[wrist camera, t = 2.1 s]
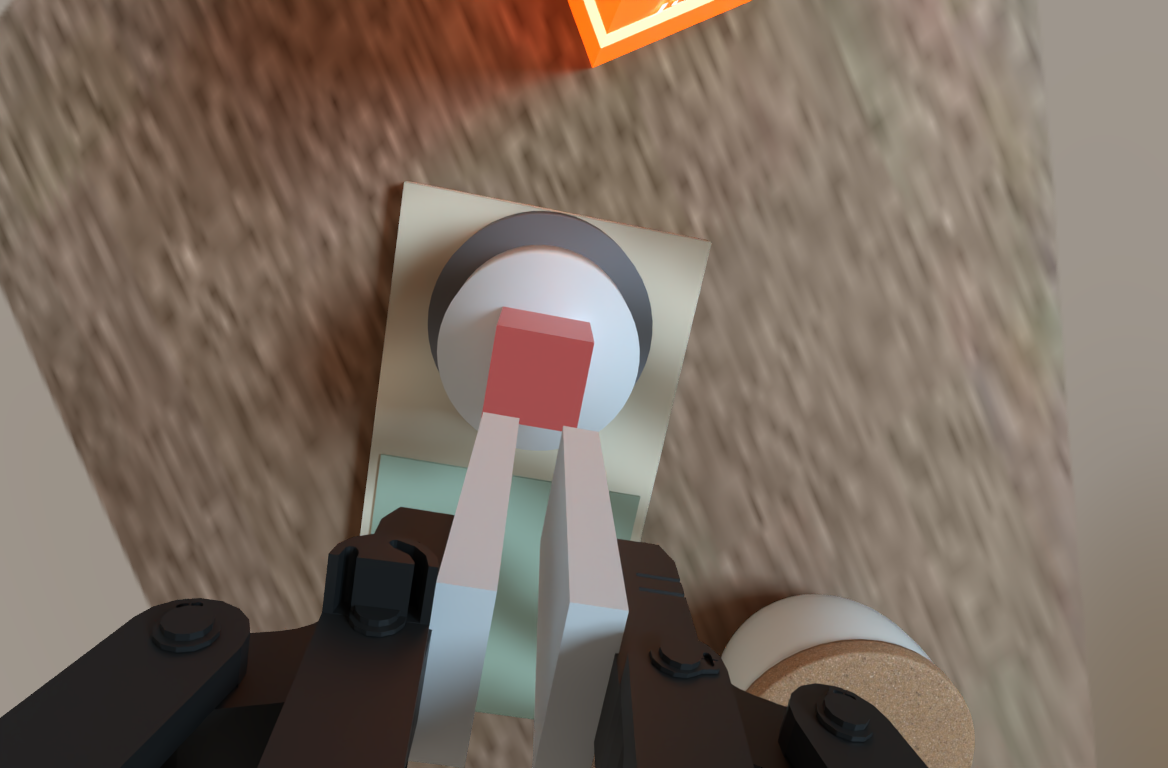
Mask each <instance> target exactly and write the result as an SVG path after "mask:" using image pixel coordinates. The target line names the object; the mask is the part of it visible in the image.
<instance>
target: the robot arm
mask: <svg viewBox="0 0 1168 768" xmlns="http://www.w3.org/2000/svg"><path fill="white" fill-rule="evenodd" d="M518 426H519V418H515V417H509V416H503V415H498V414H492V413H486V412H483V415H482V418H481V422H480V426H479V429H478V433H477V437H476V440H475V444H474V447H473V451H472V455H471V458H470V462H469V465H468V469H467V473H466V476H465V480H464V483H463V487H462V491H461V494H460V498H459V502H458V505H457V509H456V512H455V515H451V514H444V513H438V512H432V511H425V510H419V509H413V508H406V507H399V508H397V509H396V510H394V511H393V512H391V513H389V514H388V515H386V516H385V517H383V518H382V519H381V520H380V522H379V525H378V527H377V529H376V531H375V533H374V534H368V535H362V536H356V537H352V538H350V539H348V540H345V541H343V542H341V543H339V544H337V545H336V546H335V547H334V549H333V550H332V551H331V552H330V553H329V556H328V565H327V574H326V583H325V592H324V601H323V609H322V614H321V617H320V619H319V621H318V622H316V623H314V624H311V625H308V626H305V627H301V628H298V629H292V630H284V631H275V632H260V633H250V625H249V619H248V618H247V617H246V616H245V614H244V613H243V612H242V611H241V610H240V609H239V608H237V607H234V606H232V605H230V604H228V603H225V602H223V601H217V600H209V599H202V598H198V599H183V600H175V601H171V602H168V603H164V604H161V605H157V606H153V607H151V608H150V609H148V610H146V611H144V612H143V613H141V614H139V615H137V616H135V617H133V618H132V619H131V620H129V621H128V622H127V623H125V624H124V625H123V626H121V627H120V628H119V629H118V630H116V631H115V632H114V633H113V634H111V635H110V636H108V637H107V638H106V639H104V640H103V641H102V642H100V643H99V644H98V645H96V646H95V647H94V648H92V649H91V650H90V651H88V652H87V653H86V654H84V655H83V656H82V657H80V658H79V659H78V660H77V661H75V662H74V663H73V664H71V665H70V666H69V667H67V668H66V669H64V670H63V671H62V672H61V673H59V674H58V675H57V676H55V677H54V678H53V679H51V680H50V681H49V682H47V683H46V684H45V685H43V686H42V687H41V688H39V689H38V690H37V691H35V692H34V693H33V694H31V695H30V696H29V697H27V698H26V699H25V700H24V701H22V702H21V703H19V704H18V705H17V706H15V707H14V708H13V709H11V710H10V711H9V712H7V713H6V714H5V715H3V716H2V717H1V718H0V768H407V764H408V761H414V762H422V763H430V764H438V765H446V766H453V767H461V768H464V767H465V762H466V756H467V751H468V746H469V740H470V735H471V729H472V724H473V719H474V713H475V708H476V702H477V697H478V692H479V686H480V681H481V675H482V670H483V665H484V659H485V654H486V648H487V643H488V637H489V632H490V627H491V621H492V616H493V610H494V605H495V600H496V594H497V588H498V580H499V572H500V565H501V557H502V549H503V541H504V534H505V526H506V518H507V511H508V503H509V495H510V487H511V480H512V472H513V464H514V457H515V449H516V441H517V433H518ZM594 753H595V767H596V768H928V767H927V765H926V764H925V763H924V762H923V760H922V759H921V758H920V757H919V756H918V754H917V753H916V752H915V751H914V750H913V748H912V747H911V746H910V745H909V744H908V742H907V741H906V740H905V739H904V737H903V736H902V735H901V734H900V733H899V731H898V730H897V729H896V728H895V727H894V725H893V724H892V723H891V722H890V721H889V719H888V718H887V717H885V716H884V715H883V714H882V713H881V712H880V711H879V710H878V709H877V708H876V707H875V706H874V705H872V704H871V703H869V702H867V701H866V700H864V699H863V698H861V697H859V696H858V695H857V694H855V693H853V692H850V691H848V690H844V689H843V688H839V687H836V686H831V685H824V684H818V683H814V684H808V685H802V686H800V687H798V688H797V689H796V690H795V691H794V692H792V693H791V696H790V699H789V702H788V705H787V707H785V706H783V705H780V704H777V703H774V702H772V701H769V700H766V699H763V698H761V697H758V696H755V695H753V694H750V693H748V692H746V691H744V690H741V689H739V688H738V687H736V686H734V685H733V684H731V681H730V677H729V673H728V670H727V668H726V666H725V664H724V662H723V661H722V659H721V657H720V656H719V655H718V654H717V653H715V652H714V651H713V650H712V649H711V648H710V647H709V646H708V645H706V644H704V643H702V642H700V641H698V637H697V634H696V631H695V627H694V624H693V621H692V617H691V614H690V611H689V608H688V604H687V601H686V598H684V591H683V588H682V584H681V583H680V578H679V575H678V571H677V568H676V565H675V562H674V561H673V560H672V559H671V558H670V557H669V556H668V554H667V553H666V552H665V551H664V550H663V549H662V548H661V547H660V546H659V545H655V544H648V543H642V542H636V541H629V540H623V539H617V538H616V532H615V526H614V520H613V514H612V508H611V502H610V496H609V490H608V484H607V478H606V473H605V467H604V461H603V455H602V449H601V443H600V437H599V432H597V431H591V430H585V429H579V428H574V427H568V426H563V429H562V434H561V439H560V444H559V449H558V454H557V459H556V464H555V469H554V474H553V479H552V484H551V489H550V494H549V499H548V504H547V509H546V514H545V519H544V525H543V530H542V535H541V540H540V561H539V591H538V621H537V651H536V681H535V711H534V740H533V768H591V766H592V762H593V757H594Z"/></svg>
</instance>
